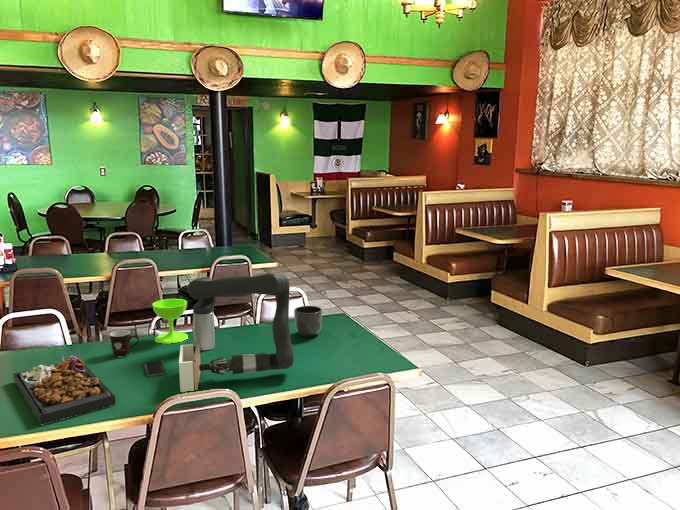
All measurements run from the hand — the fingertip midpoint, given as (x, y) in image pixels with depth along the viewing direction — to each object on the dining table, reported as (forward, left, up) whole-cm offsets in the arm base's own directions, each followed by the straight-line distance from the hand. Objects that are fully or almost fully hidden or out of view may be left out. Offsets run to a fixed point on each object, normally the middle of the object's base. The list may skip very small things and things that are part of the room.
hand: (199, 367), depth 220 cm
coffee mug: (-50, +9, -7) cm, 52 cm away
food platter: (-40, -31, -7) cm, 51 cm away
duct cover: (-2, +1, -6) cm, 7 cm away
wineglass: (-46, +35, -7) cm, 58 cm away
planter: (+10, +70, -7) cm, 71 cm away
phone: (-26, +3, -7) cm, 27 cm away
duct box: (-5, -1, -6) cm, 8 cm away
